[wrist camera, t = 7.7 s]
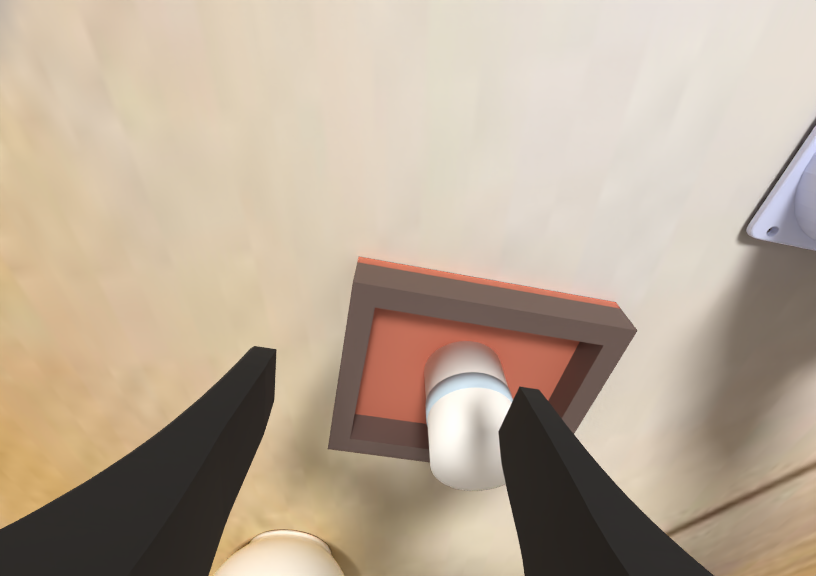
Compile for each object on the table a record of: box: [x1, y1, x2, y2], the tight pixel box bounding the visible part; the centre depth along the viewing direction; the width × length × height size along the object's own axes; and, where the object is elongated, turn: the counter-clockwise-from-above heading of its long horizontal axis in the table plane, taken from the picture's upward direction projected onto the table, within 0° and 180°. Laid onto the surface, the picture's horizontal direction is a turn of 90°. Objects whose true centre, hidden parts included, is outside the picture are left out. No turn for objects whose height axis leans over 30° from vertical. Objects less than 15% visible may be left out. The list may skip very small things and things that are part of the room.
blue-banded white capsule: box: [424, 341, 513, 491], centre depth 22 cm, size 5×5×6 cm
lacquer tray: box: [328, 257, 637, 462], centre depth 24 cm, size 14×12×2 cm
